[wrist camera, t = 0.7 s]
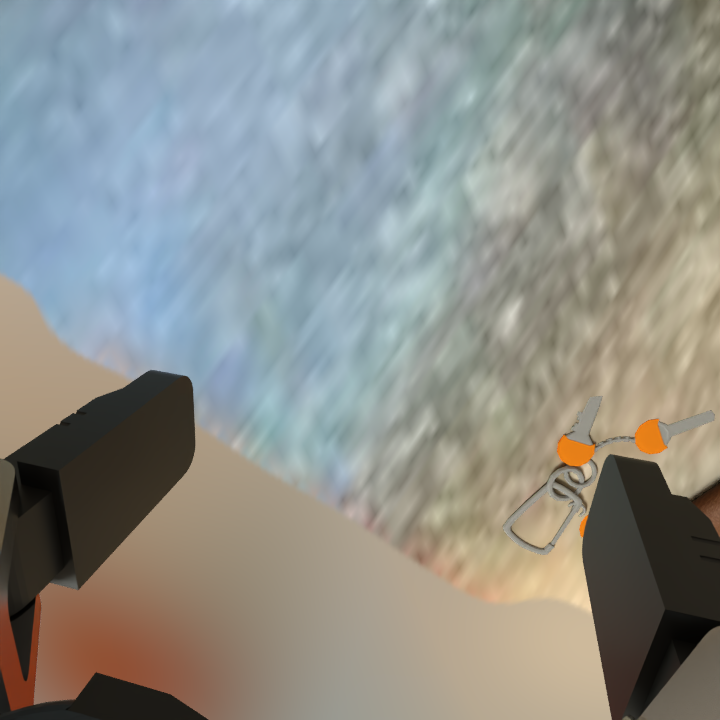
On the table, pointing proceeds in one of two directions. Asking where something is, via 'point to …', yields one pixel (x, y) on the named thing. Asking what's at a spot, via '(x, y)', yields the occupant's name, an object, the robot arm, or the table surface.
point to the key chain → (580, 451)
